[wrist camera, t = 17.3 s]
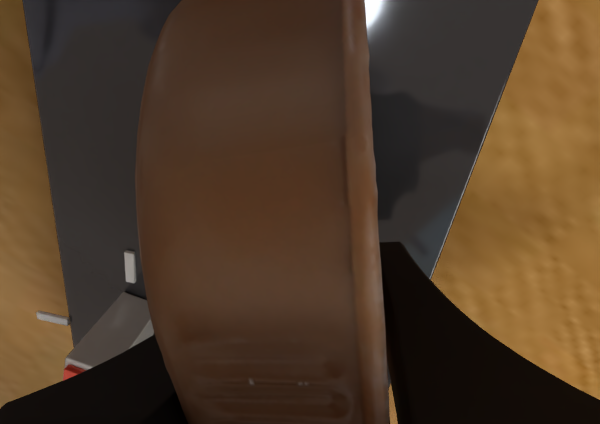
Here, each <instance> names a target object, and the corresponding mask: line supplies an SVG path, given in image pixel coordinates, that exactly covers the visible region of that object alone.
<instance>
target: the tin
mask: <svg viewBox="0 0 600 424" xmlns="http://www.w3.org/2000/svg"><path fill="white" fill-rule="evenodd" d="M369 57H370V56H369V48H368V41H367V29H366V8H365V0H182V1H181V2H180V3H179V4H178V5H177V6H176V7H175V9H174V10H173V11H172V12H171V13H170V14H169V16H168V18H167V20H166V22H165V24H164V26H163V28H162V30H161V32H160V35H159V37H158V40H157V43H156V45H155V48H154V51H153V54H152V57H151V60H150V63H149V66H148V70H147V75H146V80H145V86H144V91H143V96H142V101H141V108H140V116H139V124H138V133H137V148H136V167H135V190H136V211H137V228H138V238H139V249H140V259H141V266H142V272H143V278H144V285H145V291H146V297H147V303H148V308H149V313H150V317H151V321H152V325H153V329H154V333H155V336H156V339H157V342H158V345H159V348H160V350H161V353H162V356H163V360H164V364H165V367H166V369H167V371H168V373H169V375H170V378H171V380H172V383H173V385H174V388H175V391H176V393H177V396H178V399H179V401H180V404H181V407H182V410H183V412H184V415H185V417H186V420H187V422H188V424H390V417H389V393H388V375H387V356H386V330H385V315H384V301H383V287H382V271H381V258H380V246H379V233H378V216H377V210H378V190H377V184H376V163H375V157H374V151H373V132H372V109H371V97H370V78H369Z"/></svg>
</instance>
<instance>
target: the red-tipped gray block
mask: <svg viewBox="0 0 600 424" xmlns="http://www.w3.org/2000/svg"><path fill="white" fill-rule="evenodd" d="M153 333H154V329H153V325H152V321H151V317H150V313H149V308H148V303H147V300H144V299H142V298H139V297H136V296H134V295H131V294H128V293H126V292H123V293H122V294H121V295H120V296H119V297H118V298H117V300H116V301H115V302H114V303H113V304H112V305H111V306H110V308H109V309H108V310H107V311H106V312H105V313H104V314H103V316H102V317H101V318H100V319H99V320H98V321H97V322H96V324H95V325H94V326H93V327H92V328H91V329H90V330H89V332H88V333H87V334H86V335H85V336H84V337H83V338H82V340H81V341H80V342H79V343H78V344H77V345H76V347H75V348H74V349H73V350H72V351H71V352H70V353H69V355H68V356H67V357H66V359H65V369H64V376H63V381H64V380H66V379H68V378H71V377H73V376H75V375H77V374H80V373H82V372H84V371H86V370H88V369H90V368H92V367H95V366H97V365H99V364H101V363H103V362H105V361H107V360H109V359H111V358H113V357H115V356H117V355H119V354H121V353H123V352H125V351H126V350H128V349H130V348H132V347H133V346H135V345H137V344H139V343H140V342H142V341H144V340H146V339H147V338H149V337H151V336H153Z"/></svg>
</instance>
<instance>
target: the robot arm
mask: <svg viewBox="0 0 600 424" xmlns="http://www.w3.org/2000/svg"><path fill="white" fill-rule="evenodd" d="M379 246H380V258H381V271H382V287H383V301H384V315H385V330H386V356H387V363H388V369H389V374H390V380H391V385H392V391H393V396H394V402H395V407H396V413H397V420H398V424H600V400H599V399H597V398H595V397H593V396H591V395H589V394H587V393H585V392H583V391H581V390H579V389H577V388H575V387H573V386H571V385H569V384H568V383H566V382H564V381H562V380H561V379H559V378H557V377H555V376H554V375H552V374H550V373H548V372H547V371H545V370H543V369H541V368H540V367H538V366H536V365H535V364H533V363H531V362H530V361H528V360H527V359H525V358H523V357H522V356H520V355H519V354H517V353H516V352H514V351H513V350H511V349H510V348H508V347H507V346H505V345H504V344H503V343H501V342H500V341H498V340H497V339H495V338H494V337H492V336H491V335H490V334H488V333H487V332H486V331H484V330H483V329H482V328H480V327H479V326H478V325H477V324H476V323H474V322H473V321H472V320H471V319H469V318H468V317H467V316H466V315H465V314H464V313H463V312H462V311H460V310H459V309H458V308H457V307H456V306H455V305H454V304H453V303H452V302H451V301H450V300H449V299H448V298H447V297H446V296H445V295H444V294H443V293H442V292H441V291H440V290H439V289H438V288H437V287H436V286H435V285H434V284H433V282H432V281H431V280H430V279H429V278H428V277H427V276H426V274H425V273H424V272H423V271H422V270H421V268H420V267H419V266H418V265H417V263H416V262H415V261H414V259H413V258H412V257H411V255H410V254H409V252H408V251H407V249H406V248H405V246H404V245H403V244H402V243H401V242H400V241H399V242H379ZM0 424H188V422H187V420H186V417H185V415H184V412H183V410H182V407H181V404H180V401H179V399H178V396H177V393H176V391H175V388H174V385H173V383H172V380H171V378H170V375H169V373H168V371H167V369H166V367H165V364H164V360H163V356H162V353H161V350H160V348H159V345H158V342H157V339H156V336H155V334H154V335H153V336H151V337H149V338H147V339H146V340H144V341H142V342H140V343H139V344H137V345H135V346H133V347H132V348H130V349H128V350H126V351H125V352H123V353H121V354H119V355H117V356H115V357H113V358H111V359H109V360H107V361H105V362H103V363H101V364H99V365H97V366H95V367H92V368H90V369H88V370H86V371H84V372H82V373H80V374H77V375H75V376H73V377H71V378H68V379H66V380H64V381H61V382H59V383H56V384H54V385H51V386H49V387H46V388H44V389H41V390H39V391H36V392H34V393H31V394H29V395H26V396H24V397H21V398H19V399H16V400H13V401H10V402H8V403H6V404H5V405H4V406H3V407H2V408H1V409H0Z"/></svg>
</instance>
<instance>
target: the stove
mask: <svg viewBox="0 0 600 424" xmlns="http://www.w3.org/2000/svg"><path fill="white" fill-rule="evenodd" d="M22 1H23V7H24V14H25V21H26V28H27V34H28V41H29V48H30V55H31V62H32V68H33V75H34V82H35V89H36V95H37V102H38V109H39V116H40V122H41V129H42V136H43V143H44V150H45V156H46V163H47V170H48V177H49V183H50V190H51V197H52V204H53V211H54V217H55V224H56V231H57V238H58V244H59V251H60V258H61V265H62V271H63V278H64V285H65V292H66V299H67V305H68V312H69V317H65V316H61V315H57V314H52V313H48V312H43V311H38V312H36V314H37V319H40V320H45V321H49V322H54V323H58V324H62V325H67V326H68V325H69V324H70V326H71V332H72V339H73V346H74V348H75V347H76V345H77V344H78V343H79V342H80V341H81V340H82V338H83V337H84V336H85V335H86V334H87V333H88V332H89V330H90V329H91V328H92V327H93V326H94V325H95V324H96V322H97V321H98V320H99V319H100V318H101V317H102V316H103V314H104V313H105V312H106V311H107V310H108V309H109V308H110V306H111V305H112V304H113V303H114V302H115V301H116V300H117V298H118V297H119V296H120V295H121V294H122V293H123V292H126V293H128V294H131V295H134V296H136V297H139V298H142V299H144V300H147V297H146V291H145V285H144V278H143V272H142V266H141V259H140V249H139V238H138V228H137V211H136V190H135V167H136V148H137V133H138V124H139V116H140V108H141V101H142V96H143V91H144V86H145V80H146V75H147V70H148V66H149V63H150V60H151V57H152V54H153V51H154V48H155V45H156V43H157V40H158V37H159V35H160V32H161V30H162V28H163V26H164V24H165V22H166V20H167V18H168V16H169V14H170V13H171V12H172V11H173V10H174V9H175V7H176V6H177V5H178V4H179V3H180V2H181V1H182V0H22ZM538 1H539V0H365V8H366V29H367V41H368V48H369V56H370V57H369V78H370V97H371V109H372V132H373V151H374V157H375V163H376V184H377V190H378V210H377V216H378V233H379V242H399V241H400V242H401V243H402V244H403V245H404V246H405V248H406V249H407V251H408V252H409V254H410V255H411V257H412V258H413V259H414V261H415V262H416V263H417V265H418V266H419V267H420V268H421V270H422V271H423V272H424V273H425V274H426V276H427V277H428V278H429V279H430V280H431V278H432V275H433V273H434V270H435V267H436V265H437V262H438V260H439V257H440V254H441V252H442V249H443V247H444V244H445V241H446V239H447V236H448V234H449V231H450V229H451V226H452V223H453V221H454V218H455V216H456V213H457V210H458V208H459V205H460V203H461V200H462V197H463V195H464V192H465V190H466V187H467V184H468V182H469V179H470V177H471V174H472V172H473V169H474V166H475V164H476V161H477V159H478V156H479V153H480V151H481V148H482V146H483V143H484V140H485V138H486V135H487V133H488V130H489V127H490V125H491V122H492V120H493V117H494V115H495V112H496V109H497V107H498V104H499V102H500V99H501V96H502V94H503V91H504V89H505V86H506V83H507V81H508V78H509V76H510V73H511V70H512V68H513V65H514V63H515V60H516V58H517V55H518V52H519V50H520V47H521V45H522V42H523V39H524V37H525V34H526V32H527V29H528V26H529V24H530V21H531V19H532V16H533V14H534V11H535V8H536V6H537V3H538ZM69 319H70V320H69ZM154 334H155V333H153V335H154ZM387 375H388V389H389V387H390V384H391V380H390V374H389V369H388V363H387Z"/></svg>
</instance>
